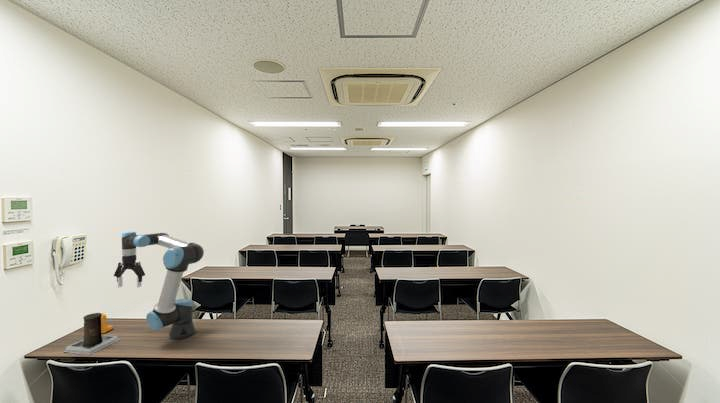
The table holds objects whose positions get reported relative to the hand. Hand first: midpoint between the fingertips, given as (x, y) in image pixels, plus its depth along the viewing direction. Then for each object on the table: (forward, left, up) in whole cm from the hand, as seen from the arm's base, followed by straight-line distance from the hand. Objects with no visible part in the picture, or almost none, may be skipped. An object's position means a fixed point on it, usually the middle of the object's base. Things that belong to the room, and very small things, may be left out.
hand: (129, 286), depth 194 cm
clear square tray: (+9, +16, -32) cm, 37 cm away
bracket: (+24, -2, -32) cm, 40 cm away
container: (+8, +16, -31) cm, 36 cm away
